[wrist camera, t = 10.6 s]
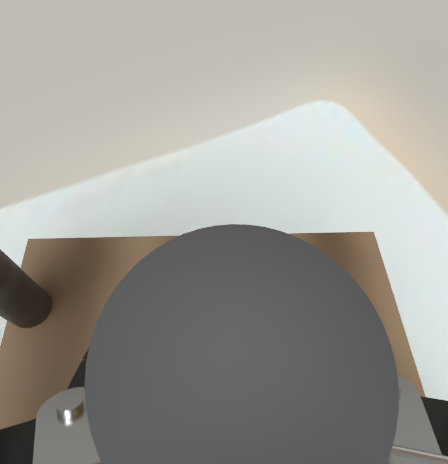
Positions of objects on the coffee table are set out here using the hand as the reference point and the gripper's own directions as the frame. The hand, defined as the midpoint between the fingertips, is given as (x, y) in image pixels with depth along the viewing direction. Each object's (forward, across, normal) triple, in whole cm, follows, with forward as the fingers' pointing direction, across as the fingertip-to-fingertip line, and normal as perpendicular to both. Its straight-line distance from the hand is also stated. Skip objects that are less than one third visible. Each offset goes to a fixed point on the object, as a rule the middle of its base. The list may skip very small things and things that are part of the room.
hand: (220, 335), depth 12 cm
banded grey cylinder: (+2, 0, +5) cm, 5 cm away
